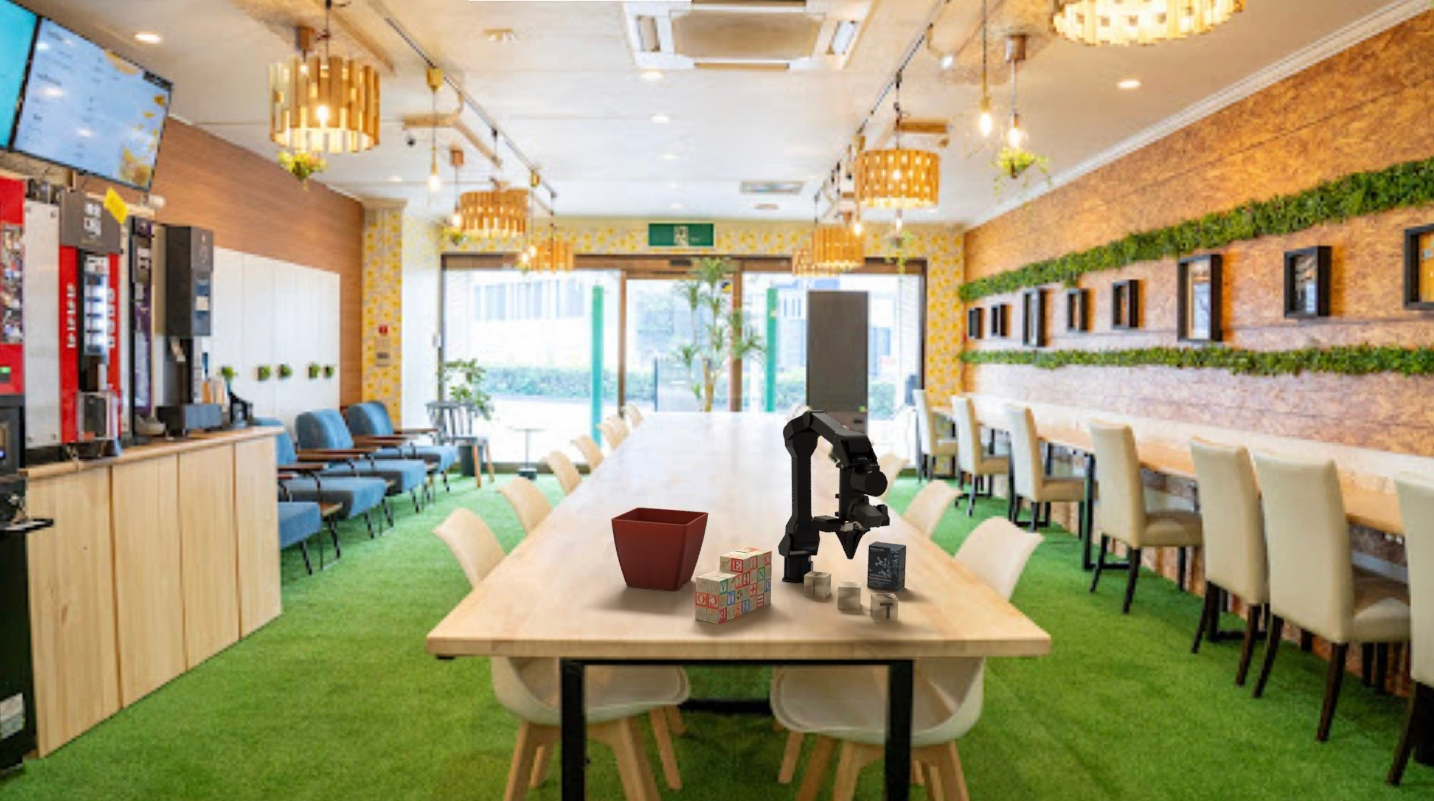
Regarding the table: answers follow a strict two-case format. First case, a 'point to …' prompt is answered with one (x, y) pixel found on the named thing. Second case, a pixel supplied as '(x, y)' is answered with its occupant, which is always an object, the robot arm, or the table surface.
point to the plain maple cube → (849, 595)
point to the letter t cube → (884, 607)
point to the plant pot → (658, 546)
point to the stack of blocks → (734, 586)
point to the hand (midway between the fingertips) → (850, 559)
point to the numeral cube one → (817, 584)
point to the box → (886, 566)
